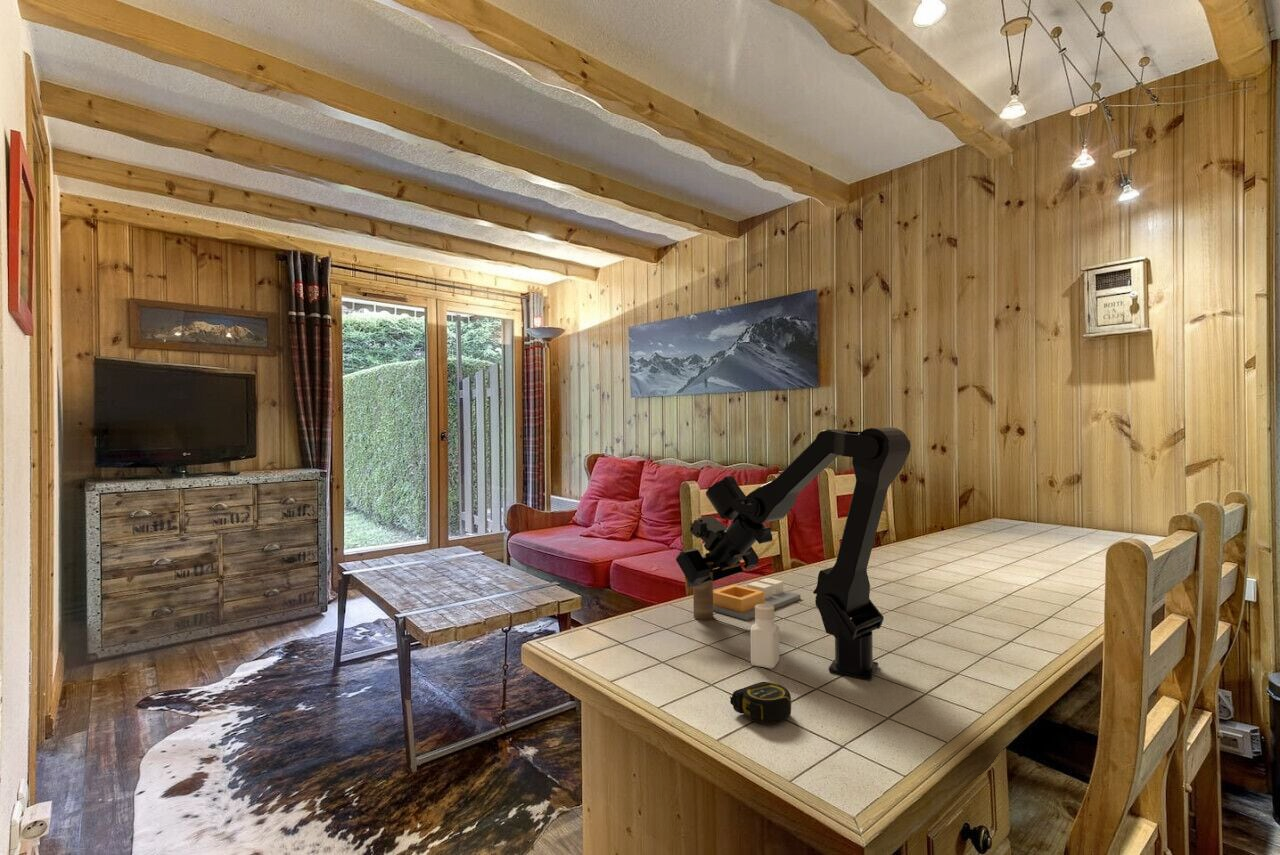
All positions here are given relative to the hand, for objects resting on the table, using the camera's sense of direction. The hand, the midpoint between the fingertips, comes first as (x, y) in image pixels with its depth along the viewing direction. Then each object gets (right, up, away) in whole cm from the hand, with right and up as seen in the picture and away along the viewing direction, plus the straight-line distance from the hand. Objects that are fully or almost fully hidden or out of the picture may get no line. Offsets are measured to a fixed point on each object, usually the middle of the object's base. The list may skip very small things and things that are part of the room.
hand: (698, 583), depth 123 cm
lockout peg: (+1, -7, -1) cm, 7 cm away
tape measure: (+4, -7, -41) cm, 42 cm away
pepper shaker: (+9, -7, -25) cm, 27 cm away
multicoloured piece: (+12, -6, +8) cm, 16 cm away
